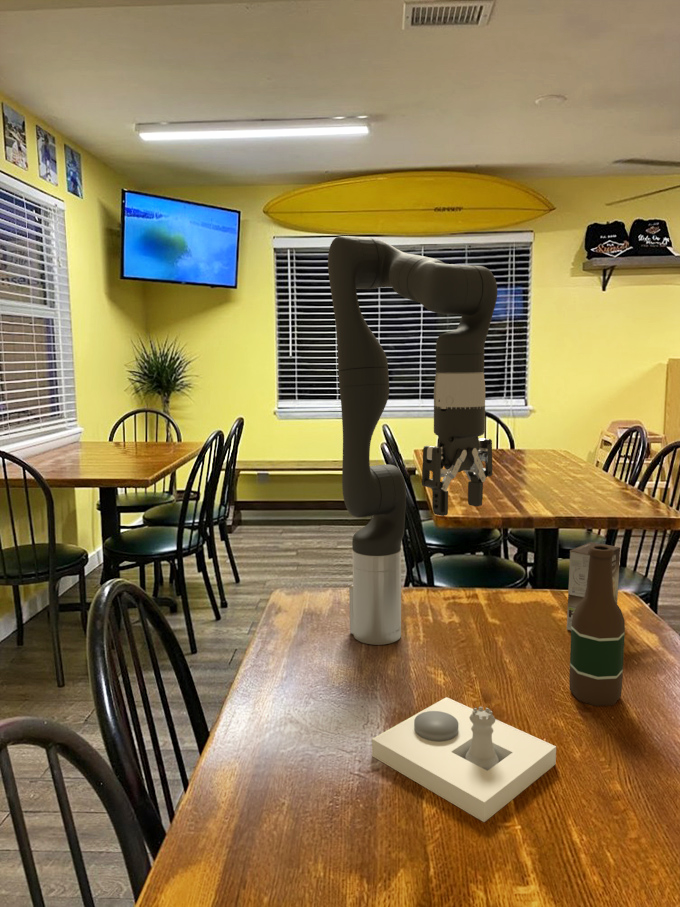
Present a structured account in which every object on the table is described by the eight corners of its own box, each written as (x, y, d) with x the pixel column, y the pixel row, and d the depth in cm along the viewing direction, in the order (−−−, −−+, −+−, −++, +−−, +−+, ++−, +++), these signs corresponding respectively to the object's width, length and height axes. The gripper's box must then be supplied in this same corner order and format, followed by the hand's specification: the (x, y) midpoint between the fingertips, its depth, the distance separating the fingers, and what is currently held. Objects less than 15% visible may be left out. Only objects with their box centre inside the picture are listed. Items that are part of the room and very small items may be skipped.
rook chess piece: (499, 782, 84) (500, 722, 83) (463, 777, 85) (464, 719, 84) (499, 761, 88) (500, 704, 87) (464, 757, 89) (465, 701, 88)
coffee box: (597, 639, 126) (601, 557, 124) (565, 629, 130) (568, 550, 128) (617, 625, 132) (621, 546, 130) (586, 616, 137) (589, 540, 135)
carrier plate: (372, 756, 90) (372, 731, 89) (446, 712, 100) (446, 690, 100) (484, 822, 76) (484, 794, 76) (555, 764, 87) (556, 739, 87)
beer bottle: (597, 712, 100) (603, 557, 96) (558, 690, 107) (563, 545, 103) (632, 699, 103) (640, 550, 100) (592, 679, 110) (599, 538, 107)
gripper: (467, 400, 106) (466, 499, 108) (408, 405, 97) (408, 514, 99) (508, 401, 101) (505, 506, 103) (449, 407, 91) (448, 522, 93)
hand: (458, 510), depth 101 cm, fingers open, 8 cm apart
